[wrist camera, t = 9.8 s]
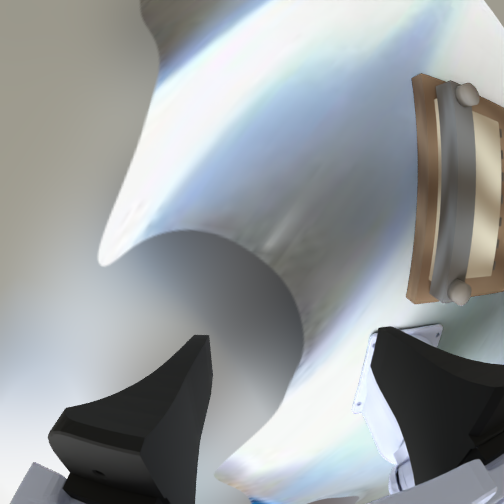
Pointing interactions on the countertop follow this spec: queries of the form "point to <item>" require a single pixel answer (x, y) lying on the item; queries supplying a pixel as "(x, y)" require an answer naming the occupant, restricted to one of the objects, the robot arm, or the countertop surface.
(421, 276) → the ticket board
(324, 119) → the countertop surface
